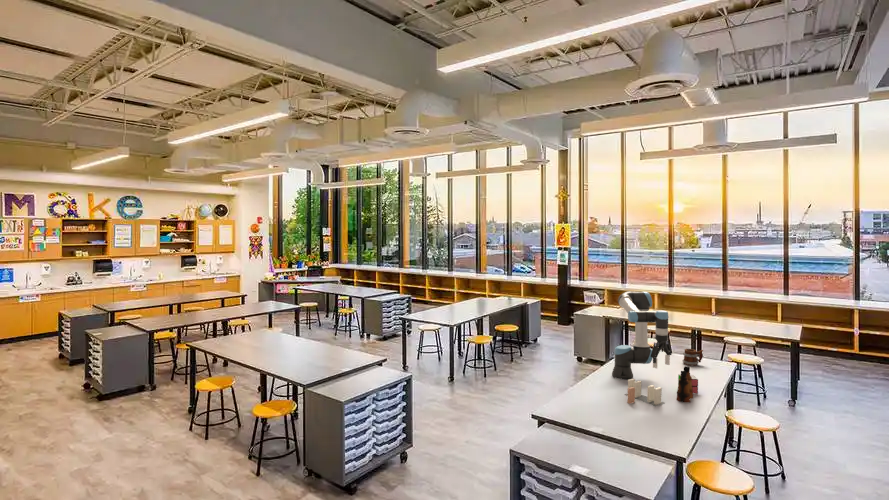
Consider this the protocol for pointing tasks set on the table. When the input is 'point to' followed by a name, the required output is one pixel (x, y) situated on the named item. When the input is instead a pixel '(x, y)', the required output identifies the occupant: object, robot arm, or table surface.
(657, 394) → the domino
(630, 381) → the domino
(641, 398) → the mat
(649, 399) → the domino
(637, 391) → the domino
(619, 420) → the table surface
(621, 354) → the robot arm
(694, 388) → the puzzle cube
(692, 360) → the mug
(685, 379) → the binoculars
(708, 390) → the table surface
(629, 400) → the domino gap
